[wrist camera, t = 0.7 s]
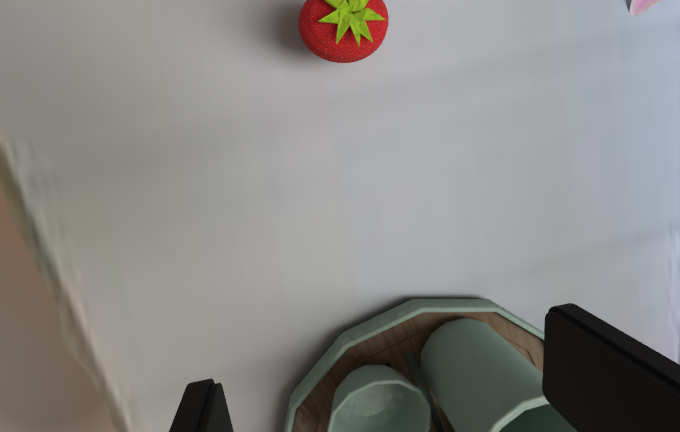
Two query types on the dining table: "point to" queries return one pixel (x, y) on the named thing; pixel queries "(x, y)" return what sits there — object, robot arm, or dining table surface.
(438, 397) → the tea set
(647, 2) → the lily
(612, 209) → the dining table surface
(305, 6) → the strawberry
